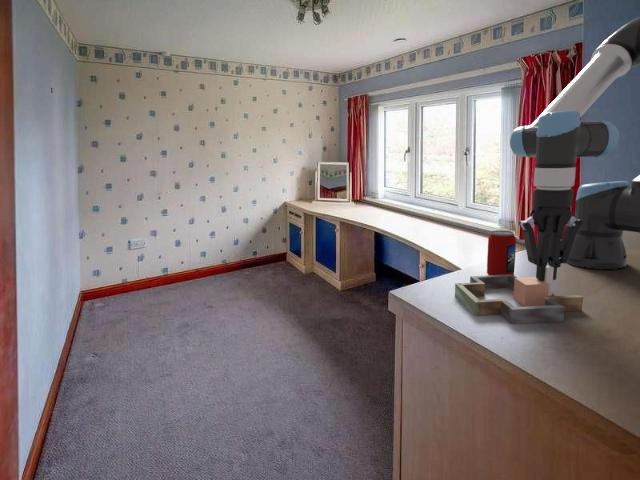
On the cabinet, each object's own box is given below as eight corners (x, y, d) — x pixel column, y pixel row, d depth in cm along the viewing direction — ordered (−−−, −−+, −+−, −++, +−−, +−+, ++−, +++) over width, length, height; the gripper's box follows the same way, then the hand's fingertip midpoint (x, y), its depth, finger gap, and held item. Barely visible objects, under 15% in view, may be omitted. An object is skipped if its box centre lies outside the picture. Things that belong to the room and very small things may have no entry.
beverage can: (516, 280, 109) (519, 235, 106) (489, 279, 110) (491, 235, 108) (510, 272, 116) (513, 229, 113) (484, 272, 117) (486, 229, 114)
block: (534, 297, 97) (536, 276, 96) (547, 305, 92) (548, 283, 91) (513, 298, 97) (514, 277, 96) (524, 306, 92) (525, 284, 91)
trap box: (538, 284, 105) (539, 273, 105) (597, 319, 84) (598, 305, 83) (448, 288, 105) (448, 277, 104) (484, 325, 83) (485, 311, 83)
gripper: (572, 185, 93) (563, 287, 98) (514, 187, 92) (508, 289, 97) (595, 188, 85) (584, 298, 90) (532, 190, 85) (524, 301, 90)
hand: (544, 293), depth 94 cm, fingers closed
